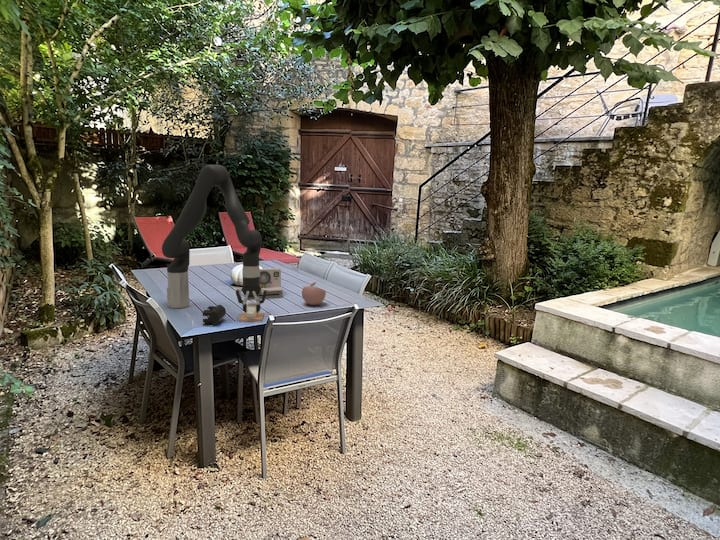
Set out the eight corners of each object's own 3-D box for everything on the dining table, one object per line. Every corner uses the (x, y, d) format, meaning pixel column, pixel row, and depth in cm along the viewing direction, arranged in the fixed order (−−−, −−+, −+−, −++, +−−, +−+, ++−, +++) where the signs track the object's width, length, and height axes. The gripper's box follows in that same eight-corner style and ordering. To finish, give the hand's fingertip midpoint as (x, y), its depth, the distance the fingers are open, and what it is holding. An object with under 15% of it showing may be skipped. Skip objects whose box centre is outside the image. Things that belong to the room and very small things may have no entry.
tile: (238, 321, 191) (238, 319, 191) (242, 314, 201) (242, 312, 201) (261, 321, 192) (261, 319, 192) (264, 314, 202) (264, 312, 202)
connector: (248, 312, 201) (248, 302, 200) (257, 312, 201) (257, 302, 200) (245, 320, 190) (245, 309, 189) (254, 320, 190) (254, 309, 189)
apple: (328, 302, 226) (328, 281, 224) (321, 309, 214) (321, 286, 212) (306, 300, 228) (306, 279, 226) (298, 306, 217) (298, 284, 215)
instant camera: (241, 300, 225) (240, 272, 222) (243, 290, 245) (242, 264, 242) (282, 299, 229) (282, 272, 226) (281, 290, 249) (281, 264, 246)
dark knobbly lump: (219, 326, 184) (218, 311, 183) (202, 326, 184) (202, 310, 183) (226, 319, 194) (225, 304, 193) (210, 318, 194) (209, 304, 192)
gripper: (233, 276, 188) (234, 314, 192) (266, 277, 190) (267, 314, 193) (236, 273, 196) (236, 309, 199) (268, 273, 197) (268, 309, 201)
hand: (251, 311), depth 196 cm, fingers open, 4 cm apart
